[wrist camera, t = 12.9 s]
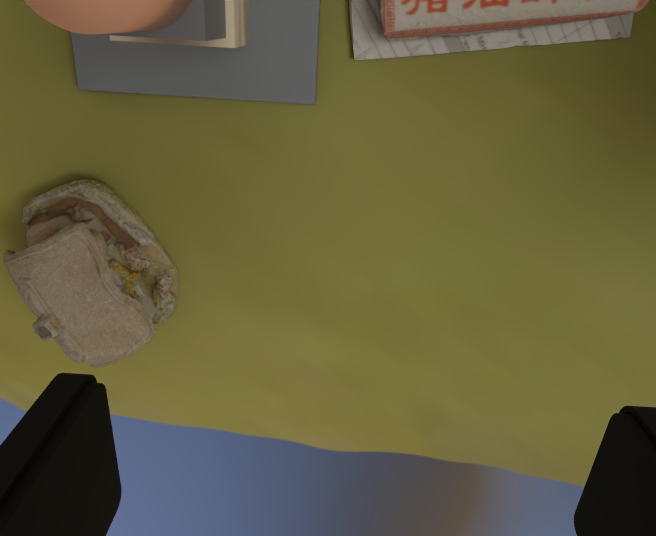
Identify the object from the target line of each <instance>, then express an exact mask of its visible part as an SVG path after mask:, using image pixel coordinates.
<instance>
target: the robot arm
mask: <svg viewBox="0 0 656 536" xmlns="http://www.w3.org/2000/svg"><path fill="white" fill-rule="evenodd" d="M120 499H121V483H120V476H119V470H118V464H117V457H116V451H115V445H114V438H113V432H112V425H111V420H110V412H109V406H108V400H107V393H106V388H105V386H104V384H102V383H97V381H96V378H95V377H94V376H93V375H88V374H71V373H60V374H58V375H57V376H56V377H55V378H54V379H53V380H52V381H51V382H50V384H49V385H48V386H47V387H46V389H45V390H44V391H43V393H42V394H41V395H40V396H39V398H38V399H37V400H36V401H35V403H34V404H33V405H32V406H31V408H30V409H29V410H28V411H27V413H26V414H25V415H24V417H23V418H22V419H21V420H20V422H19V423H18V424H17V425H16V427H15V428H14V429H13V430H12V432H11V433H10V434H9V436H8V437H7V438H6V440H5V441H4V442H3V443H2V444H1V445H0V536H106V534H107V532H108V529H109V527H110V525H111V523H112V521H113V518H114V516H115V514H116V512H117V509H118V506H119V503H120ZM574 526H575V531H576V534H577V536H656V407H639V406H624V407H623V408H622V409H621V410H620V412H619V413H616V414H614V415H612V417H611V418H610V421H609V423H608V426H607V429H606V431H605V434H604V437H603V439H602V442H601V445H600V447H599V450H598V453H597V455H596V458H595V461H594V463H593V466H592V469H591V471H590V474H589V477H588V479H587V482H586V485H585V487H584V490H583V493H582V496H581V498H580V501H579V503H578V506H577V509H576V512H575V515H574Z"/></svg>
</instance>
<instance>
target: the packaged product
mask: <svg viewBox="0 0 656 536" xmlns="http://www.w3.org/2000/svg"><path fill="white" fill-rule="evenodd" d="M648 2H649V0H349V11H350V26H351V34H352V42H353V51H354V60H365V59H380V58H394V57H409V56H421V55H432V54H442V53H453V52H464V51H474V50H490V49H500V48H508V47H513V46H531V45H551V44H560V43H570V42H581V41H592V40H601V39H618V38H629V37H631V28H632V22H633V17H634V13H636V12H638V11H640V10H642V9H643V8H644V7H645V6H646V5H647V3H648Z"/></svg>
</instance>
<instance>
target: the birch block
mask: <svg viewBox="0 0 656 536" xmlns="http://www.w3.org/2000/svg"><path fill="white" fill-rule="evenodd" d="M225 13H226V38H223V39H216V40H210V41H194V40H178V39H162V38H145V37H129V36H113V35H110V40H112V41H128V42H144V43H160V44H176V45H192V46H208V47H224V48H237V47H241V46H245V45H248V44H249V30H248V0H225Z"/></svg>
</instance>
